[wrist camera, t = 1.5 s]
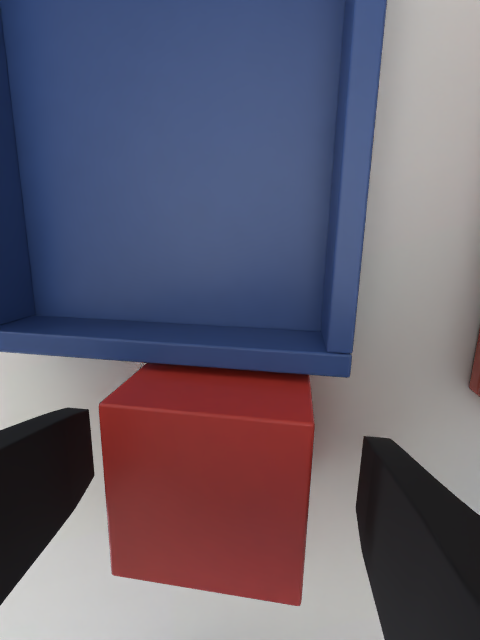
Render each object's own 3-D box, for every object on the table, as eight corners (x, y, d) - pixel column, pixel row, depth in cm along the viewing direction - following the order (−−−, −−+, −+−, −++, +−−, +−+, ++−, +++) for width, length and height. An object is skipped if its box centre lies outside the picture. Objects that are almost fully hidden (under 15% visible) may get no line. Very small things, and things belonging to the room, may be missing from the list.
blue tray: (337, 347, 11) (350, 378, 8) (33, 328, 12) (-33, 350, 10) (378, -119, 8) (413, -269, 6) (-15, -73, 10) (-120, -177, 7)
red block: (298, 476, 12) (301, 608, 8) (172, 461, 12) (110, 576, 8) (307, 351, 11) (315, 424, 7) (170, 342, 11) (97, 403, 7)
